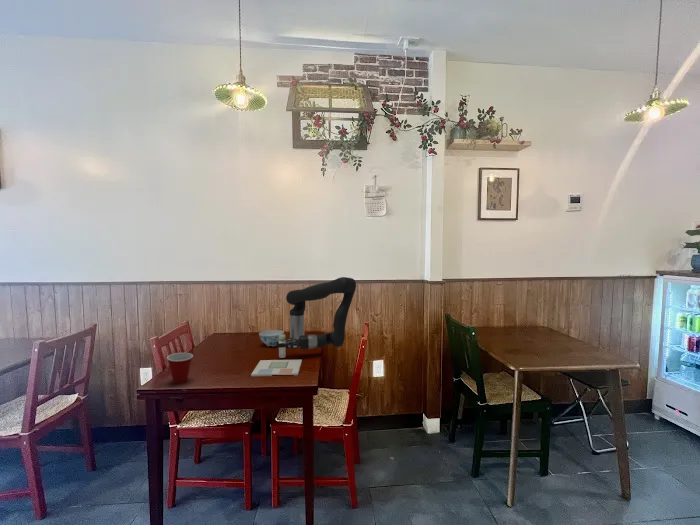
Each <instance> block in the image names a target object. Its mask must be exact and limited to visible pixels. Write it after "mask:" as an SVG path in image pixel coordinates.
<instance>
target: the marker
mask: <svg viewBox="0 0 700 525" xmlns="http://www.w3.org/2000/svg"><path fill="white" fill-rule="evenodd" d="M285 339H286V334H285V333H284V334H281V335H279V343H286V340H285ZM286 350H287V349H286V348H284V347H282V348H278V358H279V359H283V358H286V354H287V353H286Z"/></svg>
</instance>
